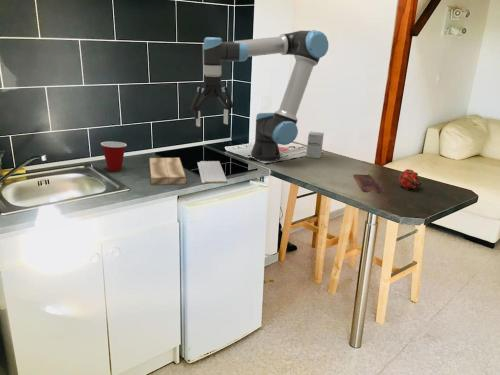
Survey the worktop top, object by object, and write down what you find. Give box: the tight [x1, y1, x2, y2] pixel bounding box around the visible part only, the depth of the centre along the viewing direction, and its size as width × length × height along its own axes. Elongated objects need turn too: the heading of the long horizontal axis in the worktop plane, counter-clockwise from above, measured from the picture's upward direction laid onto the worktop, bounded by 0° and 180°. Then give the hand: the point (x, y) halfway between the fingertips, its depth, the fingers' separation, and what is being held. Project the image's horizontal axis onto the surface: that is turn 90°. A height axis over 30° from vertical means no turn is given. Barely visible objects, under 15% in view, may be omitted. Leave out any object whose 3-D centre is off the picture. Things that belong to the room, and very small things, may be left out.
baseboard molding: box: [194, 158, 228, 185], centre depth 192 cm, size 31×3×12 cm
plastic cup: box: [100, 141, 127, 172], centre depth 188 cm, size 11×11×12 cm
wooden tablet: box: [353, 174, 386, 194], centre depth 188 cm, size 26×2×10 cm
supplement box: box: [306, 131, 325, 159], centre depth 227 cm, size 7×7×13 cm
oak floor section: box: [149, 157, 187, 186], centre depth 187 cm, size 14×30×3 cm, turn 14°
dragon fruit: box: [398, 168, 422, 190], centre depth 184 cm, size 8×8×12 cm
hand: (212, 125), depth 189 cm, fingers open, 13 cm apart
